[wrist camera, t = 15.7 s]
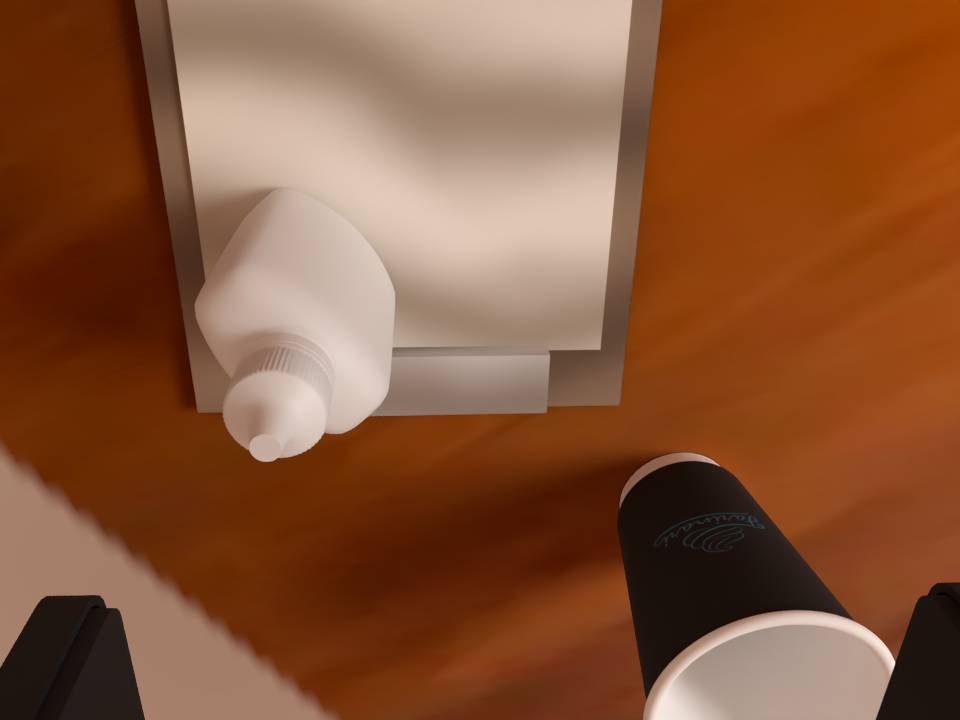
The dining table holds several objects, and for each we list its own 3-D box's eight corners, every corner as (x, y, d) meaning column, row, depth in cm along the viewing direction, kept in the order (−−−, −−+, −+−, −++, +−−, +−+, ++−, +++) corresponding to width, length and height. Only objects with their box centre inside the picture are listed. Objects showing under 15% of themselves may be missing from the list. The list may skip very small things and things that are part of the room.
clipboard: (92, -323, 22) (70, -341, 21) (688, -299, 23) (706, -314, 22) (201, 404, 32) (191, 426, 31) (616, 397, 33) (625, 418, 32)
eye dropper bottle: (285, 344, 30) (214, 567, 20) (231, 195, 28) (114, 358, 17) (404, 317, 30) (397, 527, 19) (360, 165, 28) (324, 309, 17)
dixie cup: (668, 600, 38) (754, 831, 28) (543, 510, 35) (591, 731, 26) (805, 489, 36) (951, 698, 26) (683, 383, 33) (795, 573, 23)
